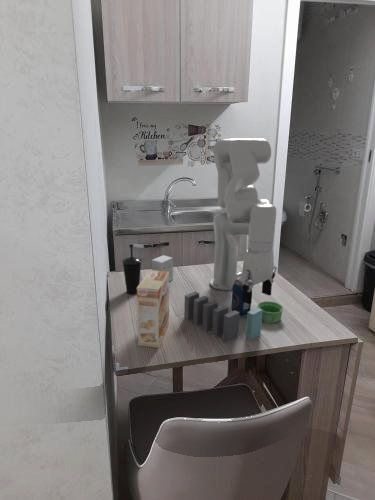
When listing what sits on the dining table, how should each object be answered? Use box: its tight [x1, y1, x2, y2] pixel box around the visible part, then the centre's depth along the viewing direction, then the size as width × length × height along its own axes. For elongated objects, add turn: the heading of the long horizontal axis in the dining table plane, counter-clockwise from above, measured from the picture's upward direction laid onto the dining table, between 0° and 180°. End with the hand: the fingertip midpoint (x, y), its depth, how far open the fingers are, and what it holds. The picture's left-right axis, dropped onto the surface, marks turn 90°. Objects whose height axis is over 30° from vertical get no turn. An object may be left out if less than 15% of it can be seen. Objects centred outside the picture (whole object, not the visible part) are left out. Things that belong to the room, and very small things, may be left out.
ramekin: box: [256, 300, 284, 324], centre depth 131 cm, size 9×9×4 cm
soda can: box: [230, 279, 253, 317], centre depth 133 cm, size 7×7×12 cm
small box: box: [151, 254, 174, 282], centre depth 160 cm, size 8×6×10 cm
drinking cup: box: [121, 244, 143, 295], centre depth 147 cm, size 8×8×20 cm
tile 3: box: [192, 295, 209, 326], centre depth 127 cm, size 5×2×9 cm, turn 132°
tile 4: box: [202, 299, 219, 332], centre depth 123 cm, size 5×2×9 cm, turn 132°
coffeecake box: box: [136, 269, 170, 349], centre depth 117 cm, size 15×7×20 cm, turn 171°
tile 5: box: [211, 304, 229, 338], centre depth 120 cm, size 5×2×9 cm, turn 132°
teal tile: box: [245, 307, 263, 341], centre depth 119 cm, size 5×2×9 cm, turn 132°
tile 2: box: [183, 291, 200, 321], centre depth 130 cm, size 5×2×9 cm, turn 132°
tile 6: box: [222, 310, 240, 344], centre depth 117 cm, size 5×2×9 cm, turn 132°
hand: (256, 298), depth 115 cm, fingers open, 9 cm apart
